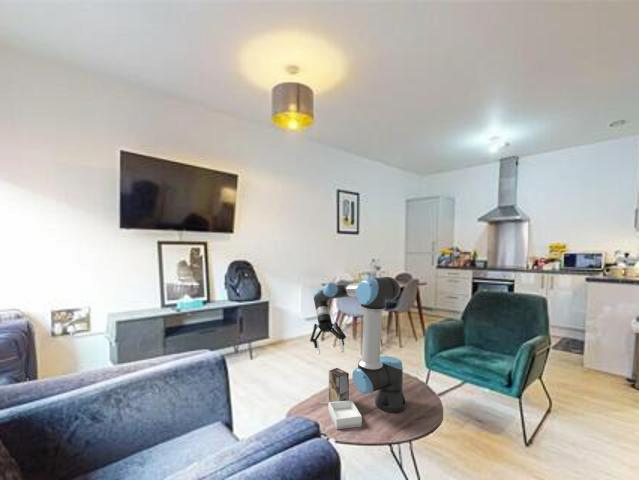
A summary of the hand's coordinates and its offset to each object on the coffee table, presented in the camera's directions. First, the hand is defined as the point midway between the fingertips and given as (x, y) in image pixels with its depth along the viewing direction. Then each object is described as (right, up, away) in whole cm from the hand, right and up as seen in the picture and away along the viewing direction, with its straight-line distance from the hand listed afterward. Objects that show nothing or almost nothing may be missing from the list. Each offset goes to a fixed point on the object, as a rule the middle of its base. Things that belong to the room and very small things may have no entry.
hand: (331, 352), depth 170 cm
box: (+5, -22, -23) cm, 32 cm away
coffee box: (+4, -23, -9) cm, 25 cm away
